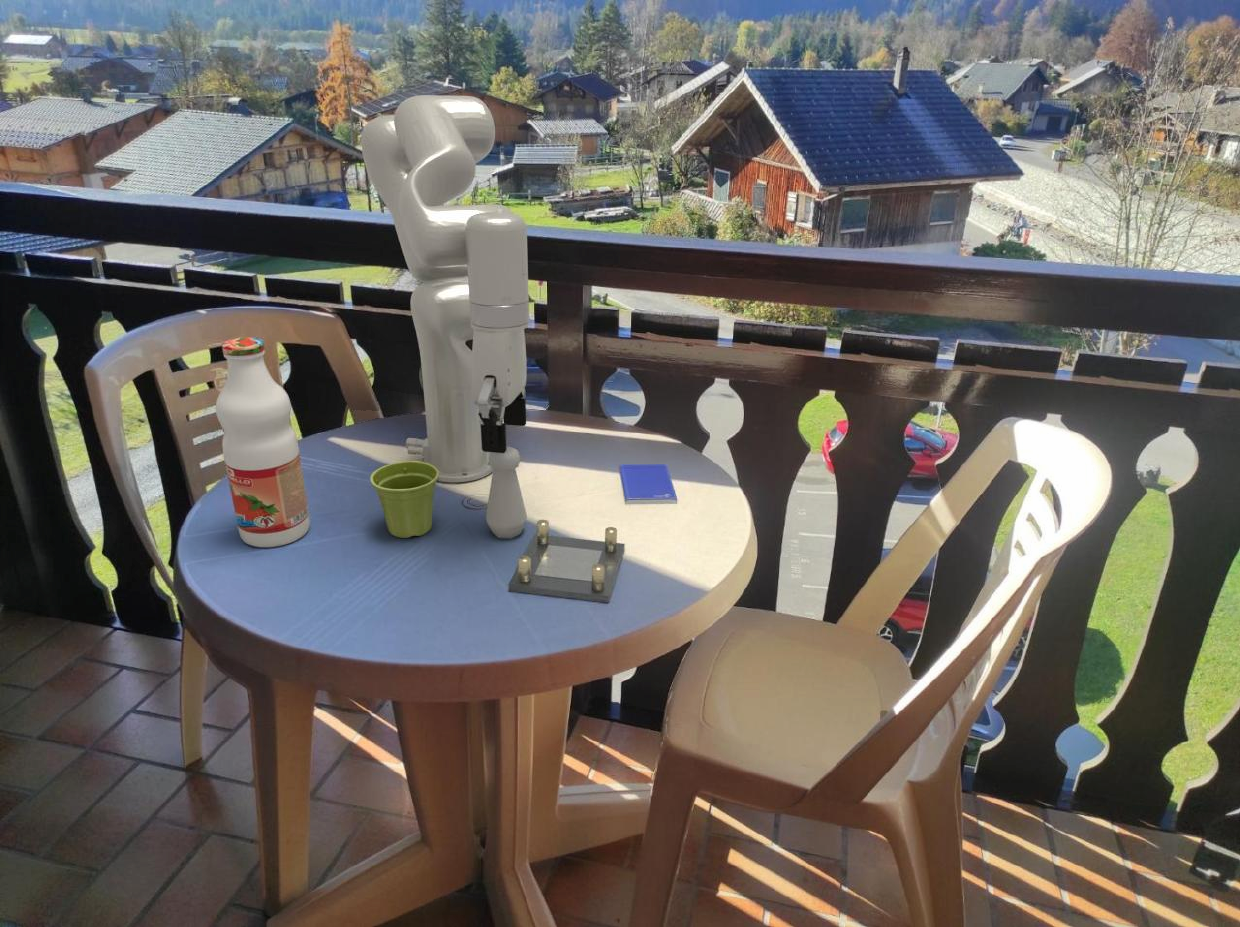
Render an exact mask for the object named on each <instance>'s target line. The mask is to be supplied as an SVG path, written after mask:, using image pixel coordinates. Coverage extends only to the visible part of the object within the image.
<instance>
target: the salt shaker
mask: <svg viewBox="0 0 1240 927" xmlns="http://www.w3.org/2000/svg"><path fill="white" fill-rule="evenodd" d="M506 447H507V450H506V452H505V453H494V452H490V454H489V464H490V466H491V468H493V472H492V473H491V481H490V489H489V495H488V501H487V508H486V515H485V520H486V521H485V522H486V523H487V525H488V527H489V529H490V531H491V533H492V534H494V535H495V536H496V537H497V538H498V539H510V540H511V539H513V538H515V537H517V536H519V535H521V534H522V531H523V529H524V527H525V524H526V522H527V518H528V515H527V511H526V510H527V509H526V507H525V503H524V498H523V494H522V489H521V486H520V485H521V484H520V482H519V478H518V475H517V470H516V469H517V468H519V465H520V462H521V456H520V452H519V451H518V450H517V449H516V448H514V447H512V446H506Z"/></svg>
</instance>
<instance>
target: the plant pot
mask: <svg viewBox="0 0 1240 927" xmlns="http://www.w3.org/2000/svg"><path fill="white" fill-rule="evenodd" d="M438 476H439V471H438V469H437V468H436V467H434V466H433V465H431V464H428V463H424V462H420V461H418V460H417V461H416V460H415V461H414V460H408V461H407V460H406V461H404V460H403V461H398V462H392V463H389V464H386V465H383V466H381V467H379V468H377V469H376V470H374V471H373V472H372V473H371V475H370V477H369V478H370V484H371V485H372V486H373V487H374V488H375V489H374V490H375V492H376V493H377V494H378V497H379V501H380V504H381V507H382V511H383V514H384V518H385V522H386V527H387V530H388V531H389V533H390V535H392V536H394V537H395V538H401V539H407V538H411V537H414V536H418V537H420V536H422V535H425V534H426V533H428V532H429V531H430V530H431V529H432V526H433V510H434V508H433V506H434V494H435V492H434V491H435V487H436V484H437V481H436V480H437V479H438Z"/></svg>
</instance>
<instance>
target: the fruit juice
mask: <svg viewBox="0 0 1240 927" xmlns="http://www.w3.org/2000/svg"><path fill="white" fill-rule="evenodd" d="M221 350H222V351H221V352H222V353H223V357H224V358H225V359H226V361H227V362H226V363H227V374H226V380H225V384H224V386H223V388H222V390H221V391H220V393H219V395H218V396H217V399H216V403H215V414H216V417H217V420H218V422H219V424H220V426H221V427H222V429H223V436H222V442H221V444H222V453H223V460H224V464H225V469H226V470H225V471H226V474H227V480H228V483H229V489H230V494H231V500H232V505H233V509H234V514H235V518H236V524H237V528H238V529H237V530H238V534H239V536H240V538H241V540H242V541H243V542H244V543H245V544H247V545H249V546H251V547H256V548H257V547H258V548H274V547H281V546H285V545H288V544H292V543H293V542H296V541H297V540H299V539H301V538H302V537H304V536H305V535H306V534H307V532H309V529H310V525H311V524H310V523H311V522H310V520H311V519H310V513H309V507H308V506H309V505H308V500H307V492H306V487H305V480H304V474H303V468H302V461H301V455H300V447H299V443H298V439H297V438H298V437H297V435H296V432H295V430H294V428H293V426H292V425H291V422H290V421H291V420H290V419H291V413H292V405H291V400H290V397H289V394H288V393H287V391H286V390H285V389H284V388H283V386H281V385H279V383H277V382H276V381H275V380H274V379H273V377H272V376H271V374H270V372H269V370H268V368H267V365H266V363H265V360H264V355H265V353H266V351H265V350H266V349H265V344H264V341H263V340H262V339H261V338H258V337H257V338H256V337H237V338H232V339H229V340H226V341H223V343H222V345H221Z"/></svg>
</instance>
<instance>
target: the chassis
mask: <svg viewBox="0 0 1240 927" xmlns="http://www.w3.org/2000/svg"><path fill="white" fill-rule="evenodd" d="M549 528H550V524H549V520H547V519H539V520H538V521H537V522H536V533H534V534H533V535H532V538H531V539H530V541H529V544H528V546H527V547H526V549H525V551H524V553H523V555H521V556H518V559H517V561H518V562H517V565H518V566H517V567H516V568H515V570H514V573H513V575H512V577H511V579H510V581H509V583H508V592H515V593H522V594H523V593H524V594H531V595H539V596H549V597H557V598H565V599H566V598H567V599H573V600H580V601H581V600H582V601H589V602H598V603H607V604H608V603H609V602H610V598H611V596H612V592H613V589H614V587H615V586H614V585H615V582H616V579H617V576H618V572H619V569H620V567H621V562H622V559H623V557H624V552H625V548H626V547H625V546H626V545H625V543H621V542H620V543H619V542H617V541H618V540H617V539H618V537H617V536H618V529H617V527H613V526H608V527H606V528H605V531H604V533H605V534H604V535H605V537H604V541H602V540H593V539H584V538H583V539H582V538H575V537H564V536H555V535H550V529H549Z"/></svg>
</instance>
